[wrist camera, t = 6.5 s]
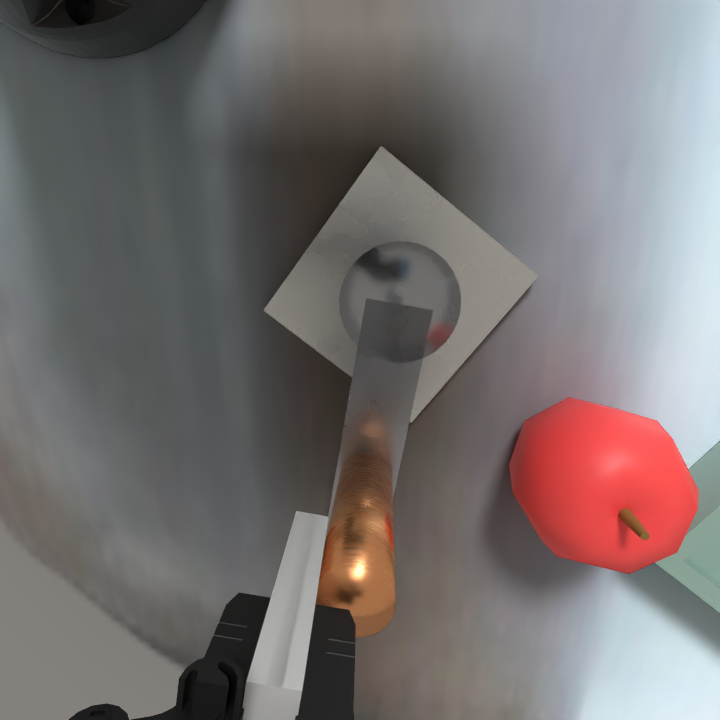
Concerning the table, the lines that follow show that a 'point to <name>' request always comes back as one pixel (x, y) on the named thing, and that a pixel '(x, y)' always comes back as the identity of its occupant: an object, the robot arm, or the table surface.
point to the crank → (380, 417)
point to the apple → (603, 485)
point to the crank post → (389, 224)
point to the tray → (701, 536)
